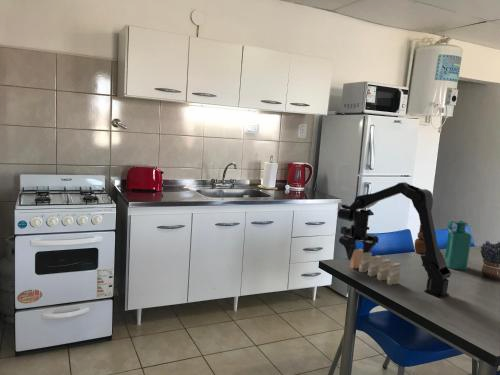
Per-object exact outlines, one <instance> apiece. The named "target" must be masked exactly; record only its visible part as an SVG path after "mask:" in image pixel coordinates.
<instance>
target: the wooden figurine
mask: <svg viewBox="0 0 500 375" xmlns="http://www.w3.org/2000/svg"><path fill="white" fill-rule="evenodd" d="M418 231H419V232H418V233H417V238H416V239H415V240H414V244H413V245H414V247H413V248H414V251H415V253H416V254H420V255H424V254H425V245H424V240H423V234H422V229H421V224H419V230H418Z"/></svg>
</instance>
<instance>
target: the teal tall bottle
mask: <svg viewBox="0 0 500 375" xmlns="http://www.w3.org/2000/svg"><path fill="white" fill-rule="evenodd" d="M446 224H447V229H448V235H447V241H446V248H445V255H444V260H445V262H446V266H447V268H448V269H452V270H459V271H460V270H462V271H466V270H467V269H468V263H469V258H470V257H469V256H470V252H471V251H470V250H471V245H472V238H473V237H472V234H471V233H469V232H468V231H466V226H468V225H469V222H467V221H463V220H456V221H454V220H453V219H450V218H447V223H446ZM453 224H455V225H456V228H455V229H453Z"/></svg>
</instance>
